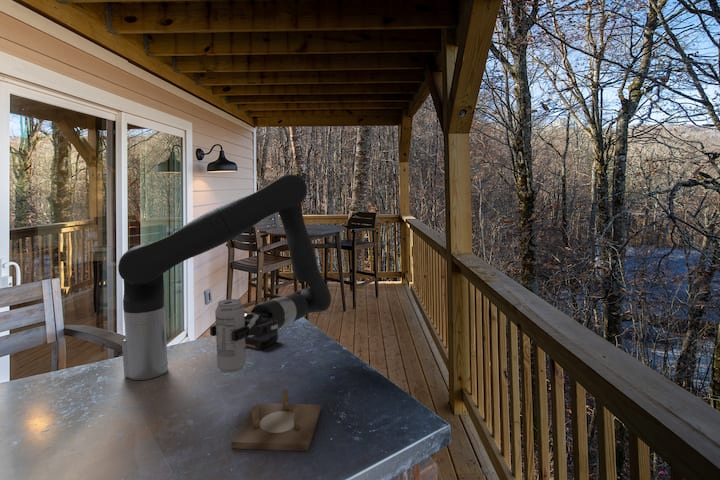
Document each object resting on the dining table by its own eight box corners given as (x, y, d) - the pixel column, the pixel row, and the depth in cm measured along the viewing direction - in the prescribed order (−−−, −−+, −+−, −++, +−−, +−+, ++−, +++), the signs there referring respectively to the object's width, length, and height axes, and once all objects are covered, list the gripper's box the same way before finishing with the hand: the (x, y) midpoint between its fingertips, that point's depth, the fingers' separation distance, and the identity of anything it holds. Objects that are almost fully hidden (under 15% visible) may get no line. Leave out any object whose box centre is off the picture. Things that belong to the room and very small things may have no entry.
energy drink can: (251, 366, 90) (249, 300, 89) (230, 376, 85) (227, 307, 84) (233, 360, 94) (231, 297, 92) (211, 369, 88) (208, 303, 87)
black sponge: (281, 342, 127) (281, 331, 127) (263, 351, 120) (263, 339, 119) (242, 335, 135) (242, 324, 134) (223, 343, 127) (223, 332, 127)
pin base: (231, 448, 73) (230, 420, 72) (256, 408, 87) (255, 385, 86) (308, 450, 72) (307, 423, 71) (320, 410, 86) (320, 386, 85)
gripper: (252, 296, 104) (198, 312, 89) (297, 303, 97) (246, 322, 82) (253, 324, 105) (199, 345, 90) (297, 333, 98) (247, 357, 83)
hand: (222, 334), depth 86 cm, fingers closed on energy drink can, 6 cm apart
